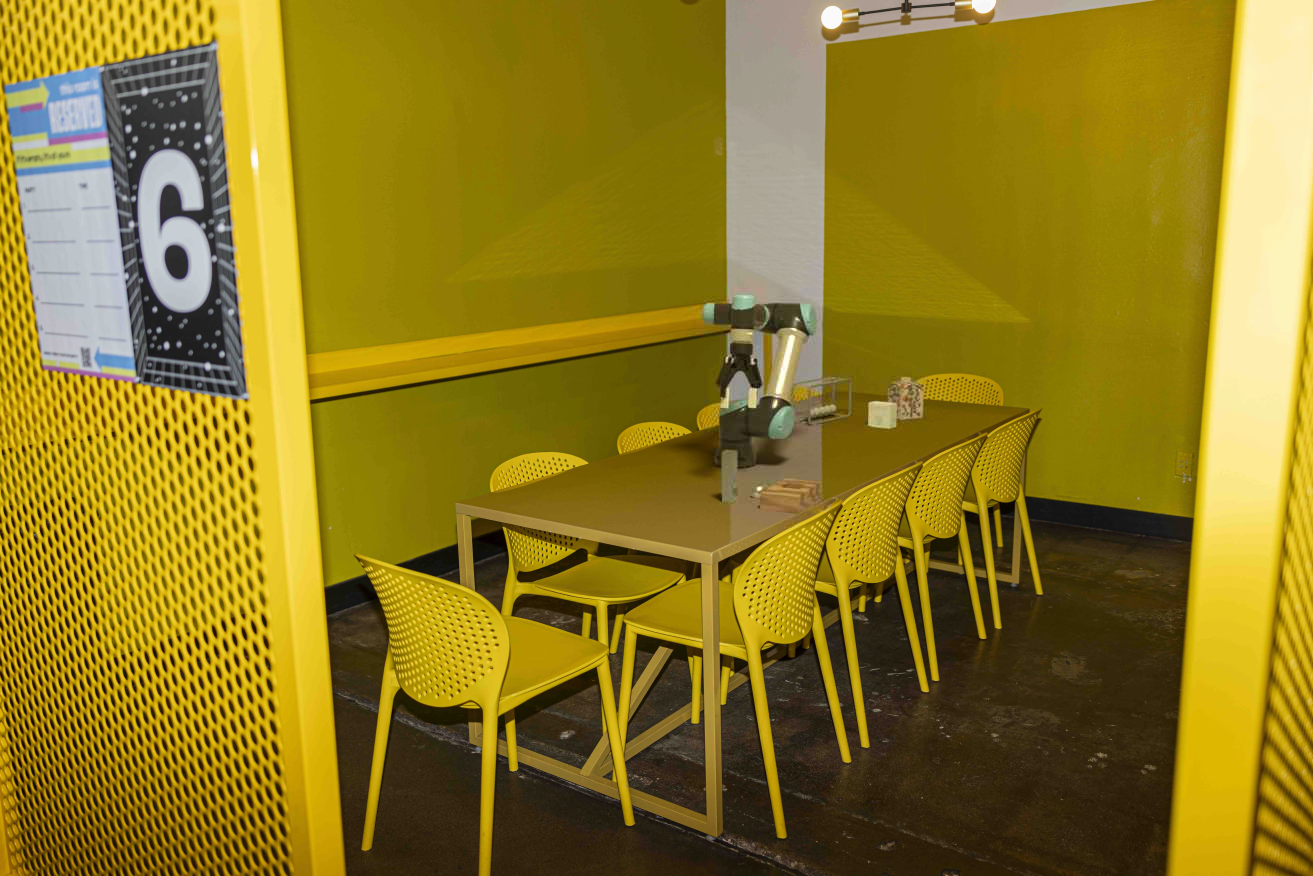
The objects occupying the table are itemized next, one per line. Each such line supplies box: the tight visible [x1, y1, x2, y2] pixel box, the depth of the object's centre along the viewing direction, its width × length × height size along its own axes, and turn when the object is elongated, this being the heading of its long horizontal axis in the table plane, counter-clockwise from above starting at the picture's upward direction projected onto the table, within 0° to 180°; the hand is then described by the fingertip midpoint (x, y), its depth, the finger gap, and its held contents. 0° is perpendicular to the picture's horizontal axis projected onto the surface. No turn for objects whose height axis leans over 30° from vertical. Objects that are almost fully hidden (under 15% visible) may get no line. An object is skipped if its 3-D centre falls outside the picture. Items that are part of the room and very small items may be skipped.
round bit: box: [750, 480, 774, 499], centre depth 313 cm, size 10×4×4 cm, turn 151°
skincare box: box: [867, 400, 898, 430], centre depth 418 cm, size 10×6×10 cm, turn 49°
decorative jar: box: [887, 376, 925, 421], centre depth 437 cm, size 12×12×18 cm
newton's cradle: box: [790, 376, 853, 426], centre depth 436 cm, size 30×10×18 cm, turn 133°
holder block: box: [759, 477, 822, 514], centre depth 302 cm, size 20×12×5 cm, turn 151°
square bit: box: [721, 450, 738, 504], centre depth 304 cm, size 4×4×16 cm
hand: (738, 407), depth 321 cm, fingers open, 13 cm apart
